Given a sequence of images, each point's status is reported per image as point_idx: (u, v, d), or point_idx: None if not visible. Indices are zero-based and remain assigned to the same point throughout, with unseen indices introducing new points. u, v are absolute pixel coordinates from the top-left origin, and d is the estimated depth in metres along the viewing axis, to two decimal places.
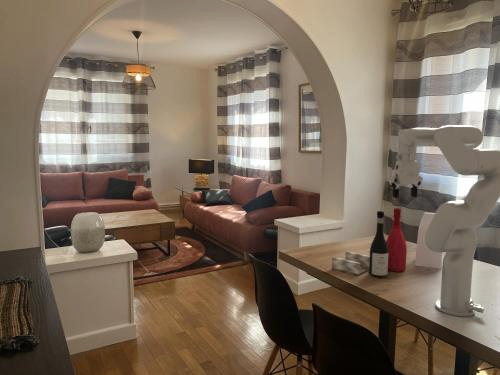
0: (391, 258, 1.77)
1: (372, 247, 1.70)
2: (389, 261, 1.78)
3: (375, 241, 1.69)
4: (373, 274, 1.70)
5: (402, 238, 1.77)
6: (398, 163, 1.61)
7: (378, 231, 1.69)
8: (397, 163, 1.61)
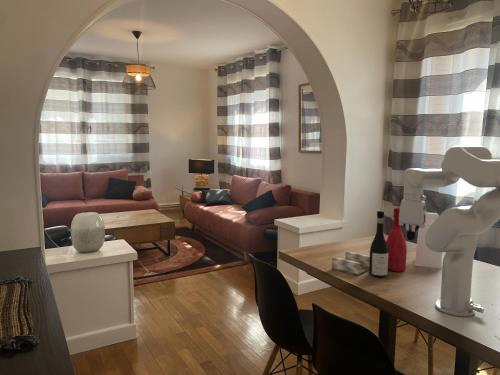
0: (391, 258, 1.77)
1: (372, 247, 1.70)
2: (389, 261, 1.78)
3: (375, 241, 1.69)
4: (373, 274, 1.70)
5: (402, 238, 1.77)
6: (424, 203, 1.56)
7: (378, 231, 1.69)
8: (423, 204, 1.56)
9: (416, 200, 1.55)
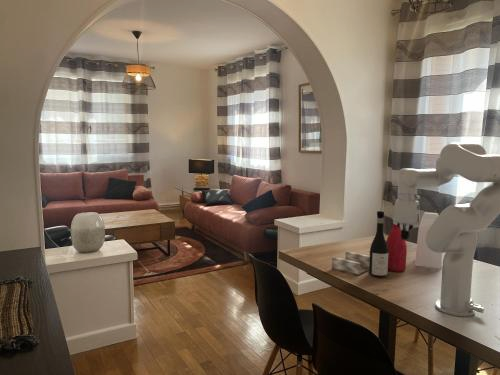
0: (391, 258, 1.77)
1: (372, 247, 1.70)
2: (389, 261, 1.78)
3: (375, 241, 1.69)
4: (373, 274, 1.70)
5: None
6: (418, 203, 1.58)
7: (378, 231, 1.69)
8: (417, 203, 1.58)
9: (410, 200, 1.57)
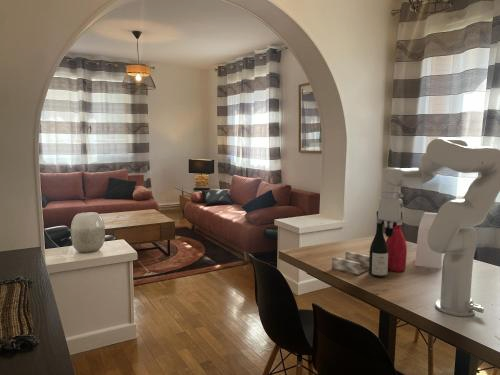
0: (391, 258, 1.77)
1: (372, 247, 1.70)
2: (389, 261, 1.78)
3: (375, 241, 1.69)
4: (373, 274, 1.70)
5: (402, 238, 1.77)
6: (401, 201, 1.63)
7: (378, 231, 1.69)
8: (401, 201, 1.62)
9: (393, 198, 1.62)
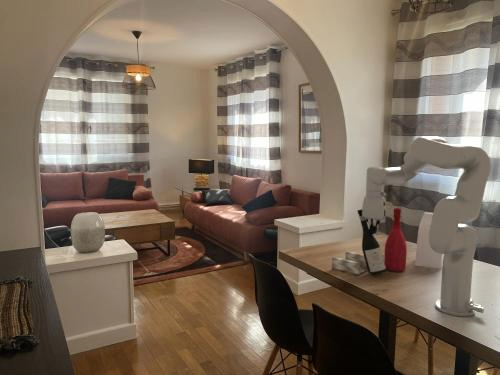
0: (391, 258, 1.77)
1: (363, 245, 1.73)
2: (389, 261, 1.78)
3: (364, 239, 1.73)
4: (372, 272, 1.70)
5: (402, 238, 1.77)
6: (384, 199, 1.68)
7: (364, 228, 1.74)
8: (383, 200, 1.67)
9: (376, 196, 1.67)
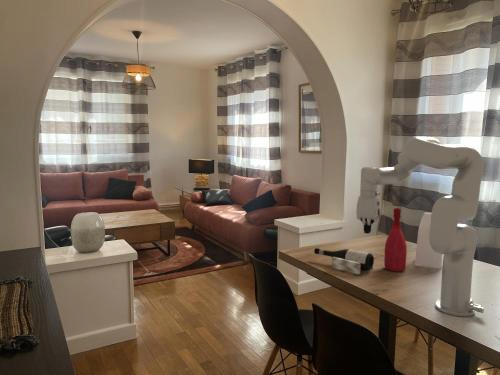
0: (391, 258, 1.77)
1: None
2: (389, 261, 1.78)
3: (336, 256, 1.85)
4: (365, 261, 1.74)
5: (402, 238, 1.77)
6: (378, 199, 1.70)
7: (329, 253, 1.88)
8: (377, 199, 1.69)
9: (370, 196, 1.69)
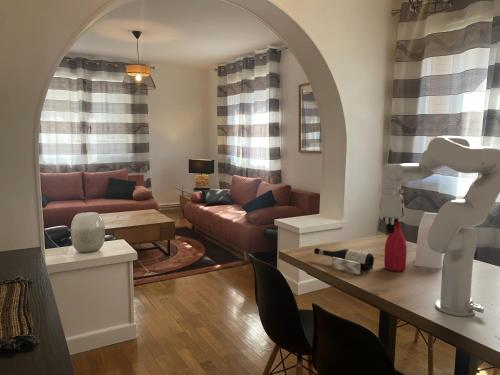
0: (391, 258, 1.77)
1: None
2: (389, 261, 1.78)
3: (336, 256, 1.85)
4: (365, 261, 1.74)
5: (402, 238, 1.77)
6: (402, 197, 1.62)
7: (329, 253, 1.88)
8: (401, 197, 1.62)
9: (394, 194, 1.61)
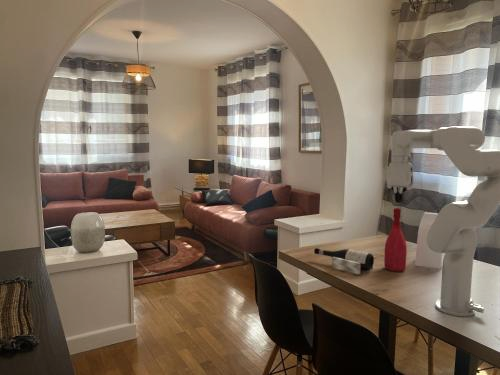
0: (391, 258, 1.77)
1: None
2: (389, 261, 1.78)
3: (336, 256, 1.85)
4: (365, 261, 1.74)
5: (402, 238, 1.77)
6: (411, 165, 1.58)
7: (329, 253, 1.88)
8: (411, 165, 1.58)
9: (403, 161, 1.57)
